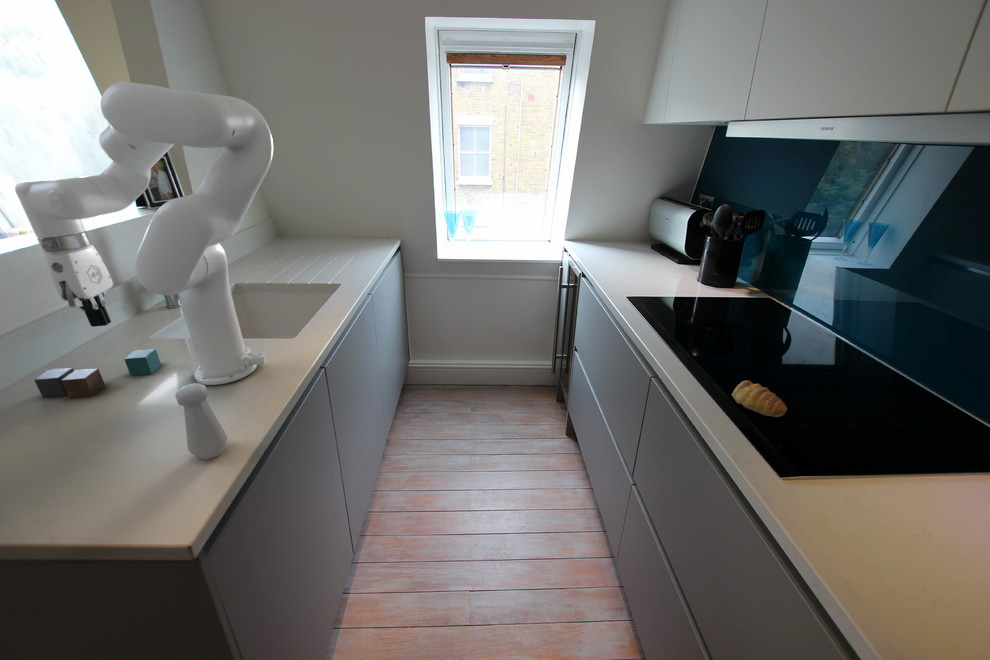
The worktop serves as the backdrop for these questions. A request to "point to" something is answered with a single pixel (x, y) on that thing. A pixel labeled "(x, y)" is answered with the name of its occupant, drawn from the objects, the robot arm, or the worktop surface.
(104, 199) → the robot arm
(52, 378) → the charcoal block
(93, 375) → the walnut block
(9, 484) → the worktop surface
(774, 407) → the pastry
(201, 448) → the salt shaker
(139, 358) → the teal block
